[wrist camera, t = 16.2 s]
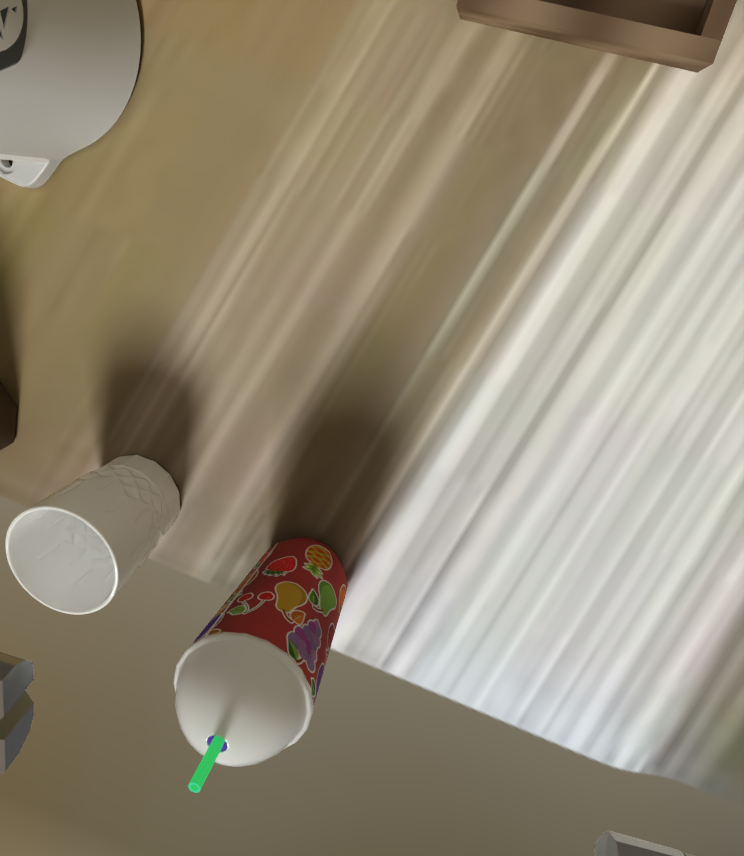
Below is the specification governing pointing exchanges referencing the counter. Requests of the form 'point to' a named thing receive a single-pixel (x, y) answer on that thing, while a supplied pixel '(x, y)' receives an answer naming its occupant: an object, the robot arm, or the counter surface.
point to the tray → (617, 25)
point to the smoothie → (261, 658)
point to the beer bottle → (7, 418)
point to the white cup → (92, 534)
